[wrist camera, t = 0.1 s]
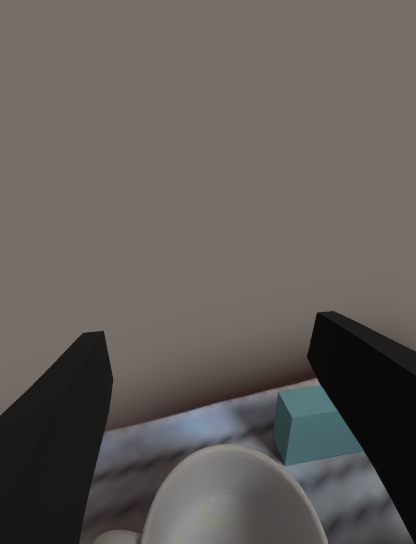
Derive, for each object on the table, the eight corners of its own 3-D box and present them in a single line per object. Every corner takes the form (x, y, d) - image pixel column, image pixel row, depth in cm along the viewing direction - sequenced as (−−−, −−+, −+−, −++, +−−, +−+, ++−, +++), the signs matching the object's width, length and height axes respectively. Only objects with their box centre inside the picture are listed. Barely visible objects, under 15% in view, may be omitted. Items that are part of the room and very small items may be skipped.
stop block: (390, 445, 28) (407, 399, 25) (284, 465, 26) (292, 417, 23) (370, 420, 30) (383, 376, 28) (272, 437, 28) (278, 391, 26)
